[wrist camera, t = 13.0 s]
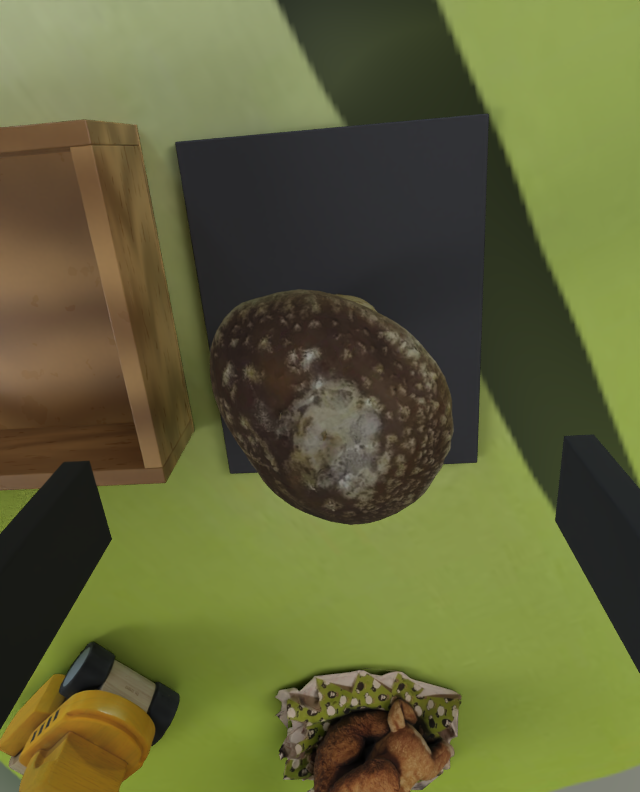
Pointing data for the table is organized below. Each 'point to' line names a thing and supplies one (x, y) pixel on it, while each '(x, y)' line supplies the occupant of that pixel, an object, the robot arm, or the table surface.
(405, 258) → the mat
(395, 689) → the bear figurine
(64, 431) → the crate
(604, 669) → the table surface
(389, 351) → the mushroom
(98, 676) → the toy roller
